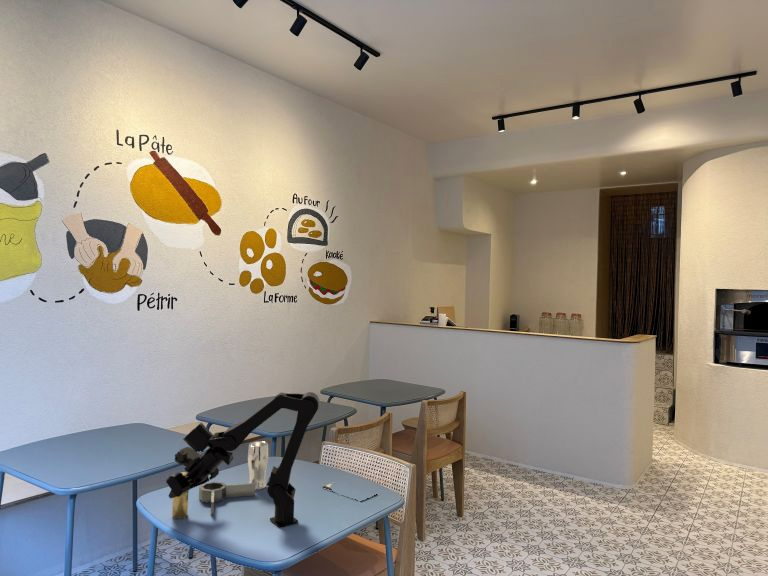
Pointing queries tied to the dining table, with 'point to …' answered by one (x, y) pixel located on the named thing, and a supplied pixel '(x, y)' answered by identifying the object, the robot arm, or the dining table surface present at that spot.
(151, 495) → the dining table surface
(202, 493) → the grey ring with arms
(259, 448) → the beer glass
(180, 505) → the hinge pin
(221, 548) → the dining table surface
